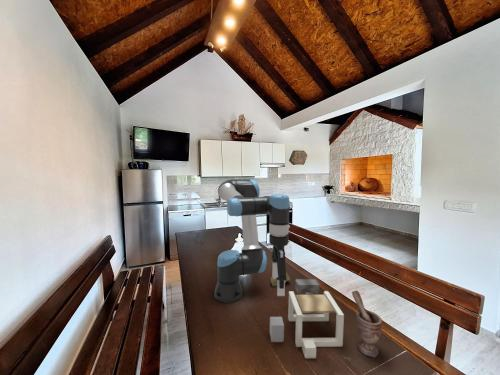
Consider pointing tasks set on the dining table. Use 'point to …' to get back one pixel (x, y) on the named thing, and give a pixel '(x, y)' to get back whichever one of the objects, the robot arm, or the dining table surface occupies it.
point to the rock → (274, 281)
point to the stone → (276, 329)
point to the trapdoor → (311, 297)
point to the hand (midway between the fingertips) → (278, 285)
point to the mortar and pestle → (367, 328)
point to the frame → (316, 317)
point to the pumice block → (309, 348)
